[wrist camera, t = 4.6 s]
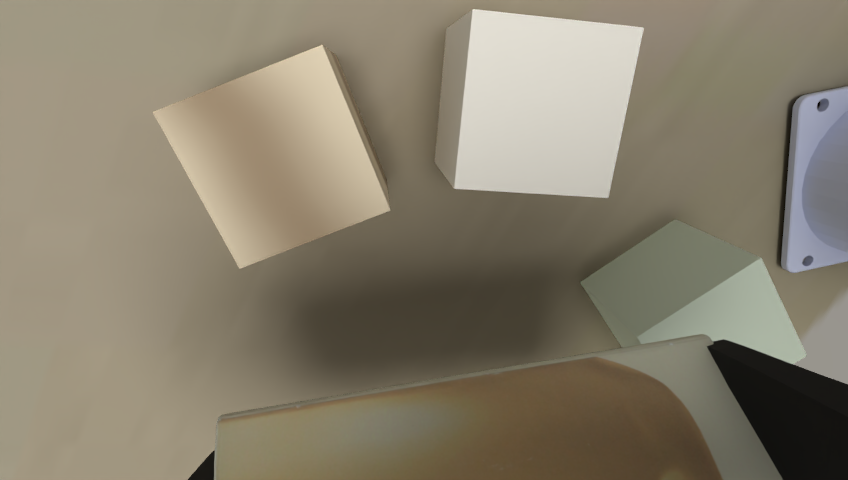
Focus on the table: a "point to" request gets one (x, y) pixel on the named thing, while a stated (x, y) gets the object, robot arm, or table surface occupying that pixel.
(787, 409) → the robot arm
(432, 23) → the table surface
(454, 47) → the cube cream
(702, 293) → the cube sage
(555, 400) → the skincare box
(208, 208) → the cube beech
